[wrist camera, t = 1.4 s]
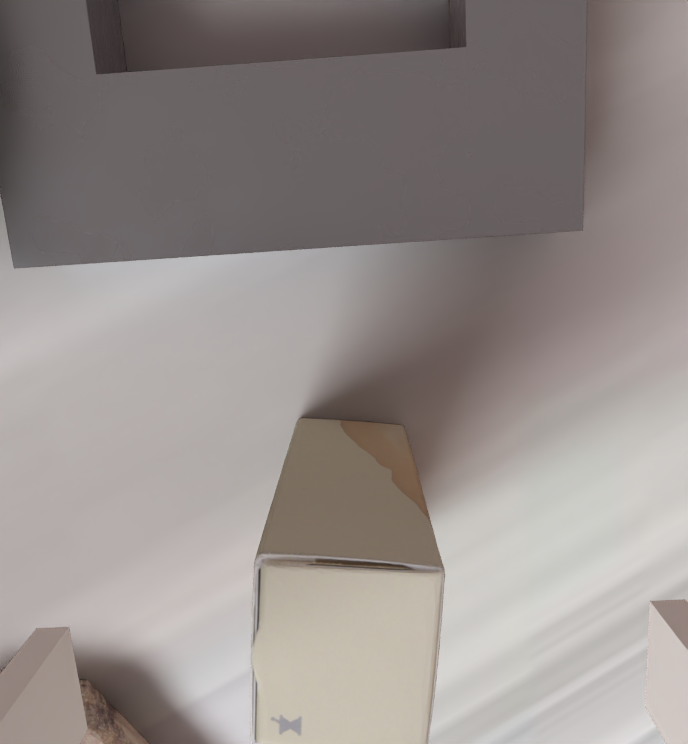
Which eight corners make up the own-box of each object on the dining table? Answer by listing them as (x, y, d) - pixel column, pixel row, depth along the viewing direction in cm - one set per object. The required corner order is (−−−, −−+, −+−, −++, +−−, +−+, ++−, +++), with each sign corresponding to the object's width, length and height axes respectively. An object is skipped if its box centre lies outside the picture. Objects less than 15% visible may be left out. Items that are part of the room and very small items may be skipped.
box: (395, 542, 26) (428, 771, 15) (288, 535, 26) (244, 761, 15) (406, 416, 25) (450, 569, 14) (294, 409, 25) (250, 557, 14)
